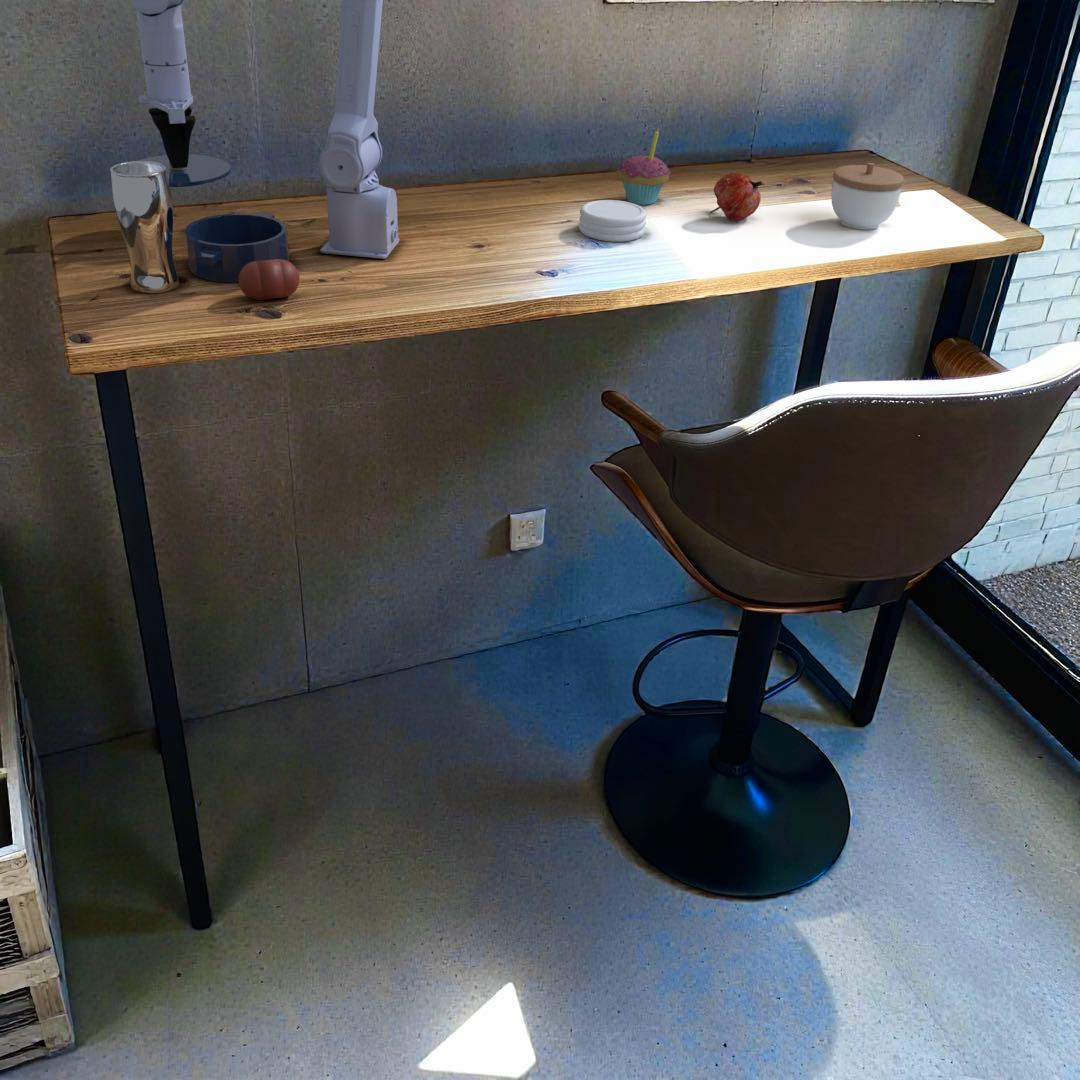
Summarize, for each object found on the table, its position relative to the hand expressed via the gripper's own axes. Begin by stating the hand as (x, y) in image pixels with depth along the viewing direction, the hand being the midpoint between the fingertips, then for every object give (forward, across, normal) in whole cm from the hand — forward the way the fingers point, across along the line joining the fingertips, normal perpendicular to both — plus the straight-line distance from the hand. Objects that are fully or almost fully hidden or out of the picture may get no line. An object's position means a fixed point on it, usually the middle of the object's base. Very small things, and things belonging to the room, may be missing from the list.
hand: (178, 164), depth 164 cm
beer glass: (+10, +21, -6) cm, 24 cm away
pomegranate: (+10, +14, +82) cm, 84 cm away
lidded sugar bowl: (+10, +22, +101) cm, 104 cm away
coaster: (+10, +16, +61) cm, 63 cm away
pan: (+10, +16, +5) cm, 19 cm away
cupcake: (+10, +3, +72) cm, 72 cm away
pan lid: (+1, 0, 0) cm, 1 cm away
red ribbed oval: (+10, +29, +7) cm, 31 cm away
